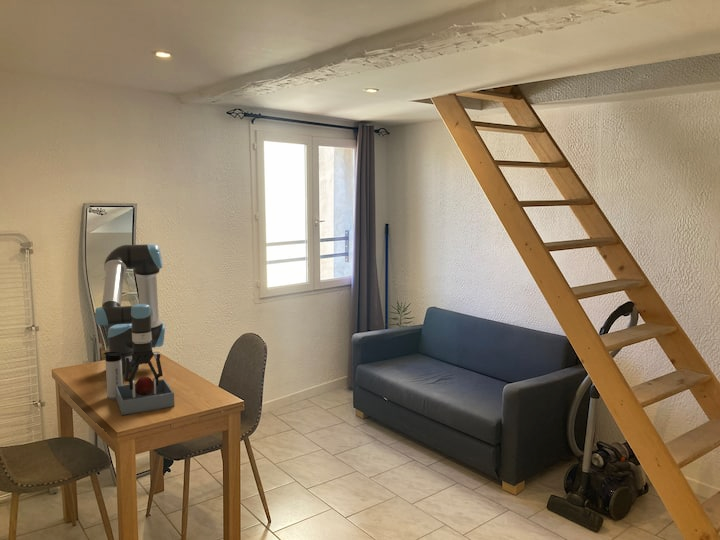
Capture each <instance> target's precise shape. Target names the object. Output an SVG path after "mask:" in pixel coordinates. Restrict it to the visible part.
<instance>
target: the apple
mask: <svg viewBox="0 0 720 540" xmlns="http://www.w3.org/2000/svg"><path fill="white" fill-rule="evenodd" d="M135 383H136V384H135V392H136V393H137V394H139V395H142V396H143V395H149V394H150V393H152V391H153V388H154V384H153V378H151V377H150V376H142V377H139V378H138V379H137V381H135Z"/></svg>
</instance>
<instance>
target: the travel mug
mask: <svg viewBox="0 0 720 540" xmlns="http://www.w3.org/2000/svg"><path fill="white" fill-rule="evenodd" d="M104 355H105V375H106V393H107V395H106V396H107V397H106V398H107V399H108V400H112V401H113V400H116V387H115V386H122V385H123V384H124V383H123V380H124V379H123V374H122V361H121V353H119V352H109V351H105V352H104Z"/></svg>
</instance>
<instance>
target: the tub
mask: <svg viewBox="0 0 720 540" xmlns="http://www.w3.org/2000/svg"><path fill="white" fill-rule="evenodd" d="M135 384H136V382H135ZM115 387H116V399H115V401H116V403H117V406H118V409H119V412H120V413H121V416H122V417H123V416H129V415H135V414H141V413H145V412H146V413H147V412H152V411H158V410H162V409H163V410H164V409H169V408H175V392H174V390H173V389H172V388H171V386H170V385H169V384H168V383H167V381H166V379H164V378H163V379H158V386H156V394H154V393H153V391H152V393H150V394H149V395H143V396H142V395H139V394H137V393H136V392H135V398H133V393H132V390H130V388H129V384H124V385H122V386H115Z"/></svg>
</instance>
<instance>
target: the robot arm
mask: <svg viewBox="0 0 720 540" xmlns="http://www.w3.org/2000/svg"><path fill="white" fill-rule="evenodd" d="M160 249H161V248H160V247H159V246H158V245H157V244H149V243H147V244H146V243H145V244H123V245H120V246H117V247H116V248H115V249H113V250H112V251H111V252H110V253H109V254H108V256H107V257H106V259H105V261H104V265H103V269H104V271H105V272H104V273H105V277H104V285H103V295H102V304H101V306H100V307H97V308H95V311H94V318H95V319H94V320H95V323H96V325H97V326H110V327H109V328H108V331H107V334H108V335H107V339H108V352H119V353H121V361H122V375H124V376H123V377H124V379H123V380H124V381H125V382H128V385H129V388H130V390H132V393H133V398H135V383H136V381H135V377H136V374H137V371H138V370H139V369H140V365H143V364H144V365H145V364H148V366H149V368H150V371H151V373H152V374H153V377H152V381H153V384H154V388H153V393H154V394H156V386H158V380H159V378H160V377H163V376H164V375H163V370H162V363H161V354H160V353H159V352H157V353H156V352H154V351H153V349H155V348H160V347H163V346H164V342H165V334H166V333H165V332H166V324H165V323H163V321H162V319H160V318H159V316H160V315H159V299H158V298H159V296H158V283H157V282H158V281H157V279H158V278H157V277H158V276H157V275H158V274H159V273H160V272H161V271H160V269H162V268H163V260H162V253H161V250H160ZM127 270H133V273H134V274H135V275H136V276H137V287H138V301H139V303H137V304H134V305H125V306H123V305H122V299H123V288H124V287H123V286H124V275H125V273H126V272H127ZM153 358H155V361H156V367H157V372H158V373H157V372H156V369H155V367H154V365H153V364H152V362H151V360H152V359H153Z"/></svg>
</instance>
